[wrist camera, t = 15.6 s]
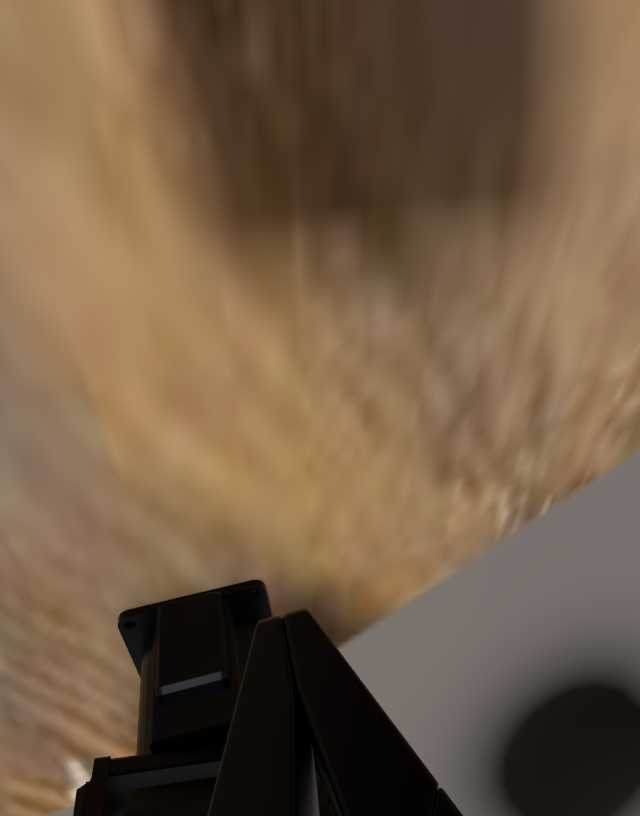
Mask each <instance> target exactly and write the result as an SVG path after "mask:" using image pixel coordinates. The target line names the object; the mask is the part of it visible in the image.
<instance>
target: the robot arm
mask: <svg viewBox="0 0 640 816" xmlns="http://www.w3.org/2000/svg"><path fill="white" fill-rule="evenodd" d="M253 591H255V592H253ZM118 629H119V631H120V633H121V635H122V637H123V640H124V642H125V644H126V646H127V649H128V651H129V653H130V655H131V658H132V660H133V662H134V664H135V667H136V669H137V671H138V673H139V676H140V678H141V683H140V701H139V720H138V739H137V755H136V756H128V757H121V758H114V759H111V756H108V757H101V758H95V760H94V766H93V772H92V778H91V779H90V781H89V782H86V784H85V785H83V786H82V787H80V788H79V789H77V792H76V799H75V807H74V815H73V816H463V815H462V814H461V812H460V811H459V810H458V809H457V807H456V806H455V804H454V803H453V802H452V800H451V799H450V798H449V796H448V795H447V794H446V792H445V791H444V790H443V789H442V788H438V782H437V781H436V780H435V778H434V777H433V776H432V774H431V773H430V772H429V770H428V769H427V768H426V766H425V765H424V764H423V762H422V761H421V760H420V758H419V757H418V756H417V754H416V753H415V752H414V750H413V749H412V748H411V746H410V745H409V744H408V742H407V741H406V740H405V738H404V737H403V736H402V734H401V733H400V732H399V730H398V729H397V728H396V726H395V725H394V724H393V722H392V721H391V720H390V718H389V717H388V716H387V714H386V713H385V712H384V710H383V709H382V708H381V706H380V705H379V704H378V702H377V701H376V700H375V698H374V697H373V696H372V694H371V693H370V692H369V690H368V689H367V688H366V686H365V685H364V684H363V682H362V681H361V680H360V678H359V677H358V676H357V674H356V673H355V672H354V670H353V669H352V668H351V666H350V665H349V664H348V662H347V661H346V660H345V658H344V657H343V656H342V654H341V653H340V652H339V650H338V649H337V648H336V646H335V645H334V644H333V642H332V641H331V640H330V638H329V637H328V636H327V634H326V633H325V632H324V630H323V629H322V628H321V626H320V625H319V624H318V622H317V621H316V620H315V618H314V617H313V616H312V614H311V613H310V612H309V611H308V610H307V609H304V608H303V609H299V610H296V611H292V612H288V613H286V614H285V615H284V616H283V618H282V617H281V616H274V617H271V613H270V608H269V604H268V599H267V594H266V590H265V585H264V583H263V582H261V581H259V580H252V581H247V582H243V583H239V584H235V585H231V586H226V587H222V588H218V589H214V590H210V591H206V592H201V593H197V594H193V595H189V596H185V597H180V598H176V599H172V600H168V601H164V602H159V603H155V604H151V605H147V606H143V607H138V608H134V609H130V610H126V611H124V612H122V613H121V614H120V615H119V618H118Z"/></svg>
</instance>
